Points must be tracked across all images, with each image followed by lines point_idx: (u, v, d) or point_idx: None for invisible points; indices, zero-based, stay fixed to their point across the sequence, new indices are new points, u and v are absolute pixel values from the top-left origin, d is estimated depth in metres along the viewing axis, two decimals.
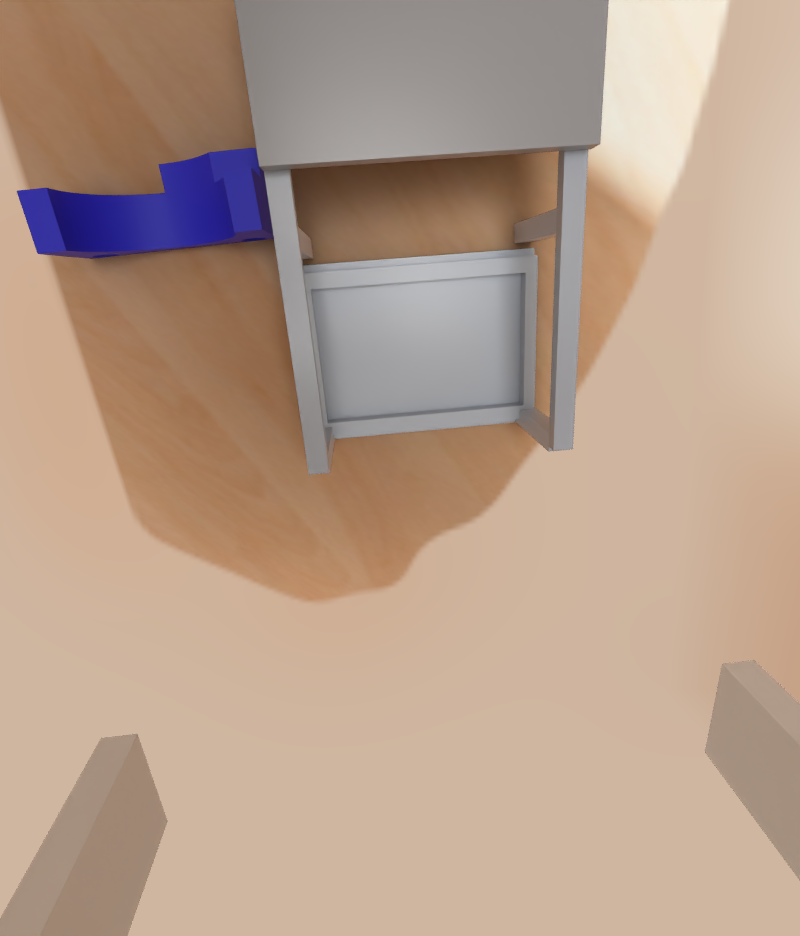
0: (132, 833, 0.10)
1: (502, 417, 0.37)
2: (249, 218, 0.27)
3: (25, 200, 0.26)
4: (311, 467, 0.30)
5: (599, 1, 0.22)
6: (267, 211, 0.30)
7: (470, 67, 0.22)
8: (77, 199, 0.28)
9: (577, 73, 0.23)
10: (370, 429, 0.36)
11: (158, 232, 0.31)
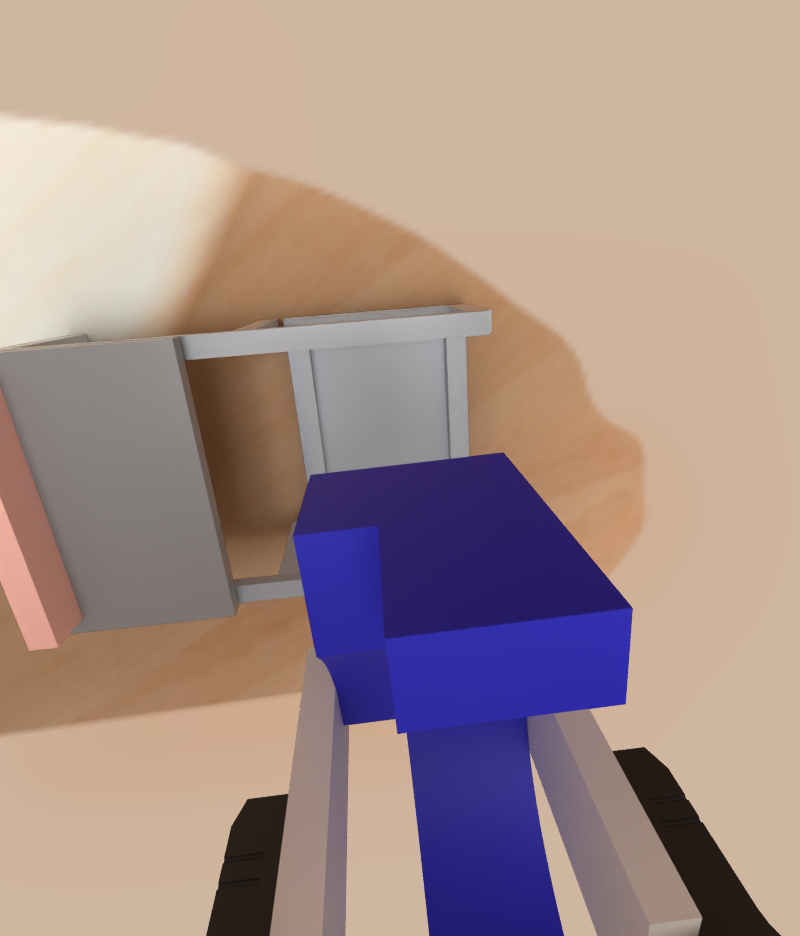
0: (342, 722, 0.12)
1: (457, 344, 0.33)
2: (583, 651, 0.06)
3: None
4: None
5: (59, 356, 0.24)
6: (472, 506, 0.09)
7: (135, 465, 0.26)
8: None
9: (119, 369, 0.24)
10: None
11: (492, 739, 0.13)
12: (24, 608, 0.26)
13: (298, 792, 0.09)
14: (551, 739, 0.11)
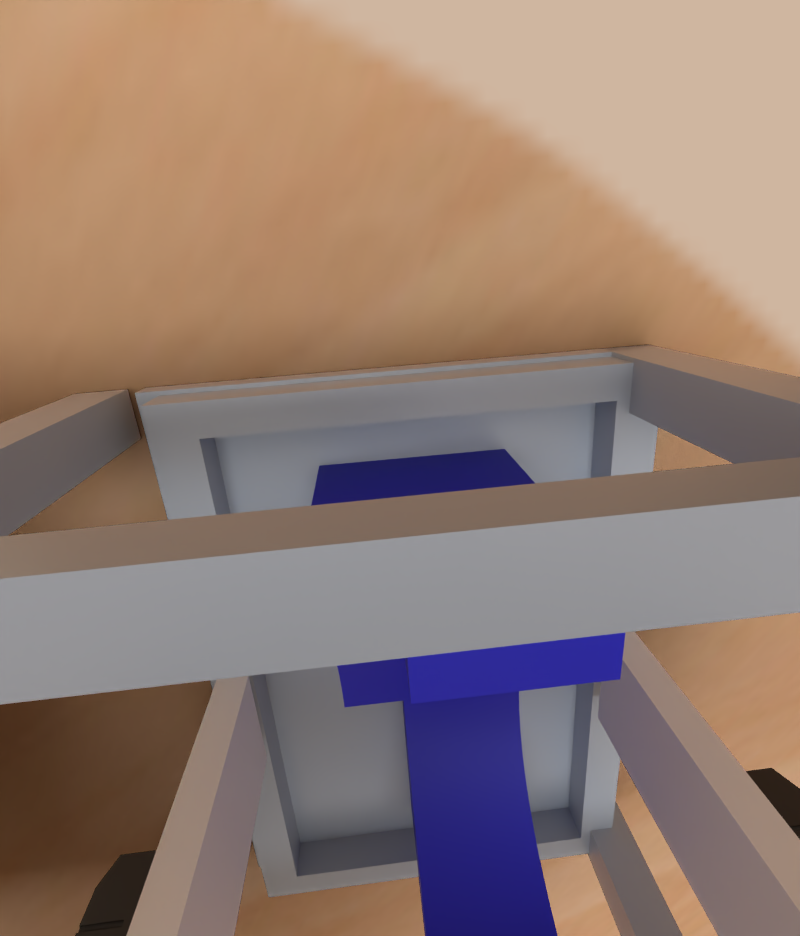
0: (249, 760, 0.11)
1: (643, 464, 0.12)
2: None
3: None
4: None
5: None
6: None
7: None
8: (437, 913, 0.12)
9: None
10: (610, 767, 0.15)
11: (485, 722, 0.13)
12: None
13: (166, 852, 0.08)
14: (665, 758, 0.10)
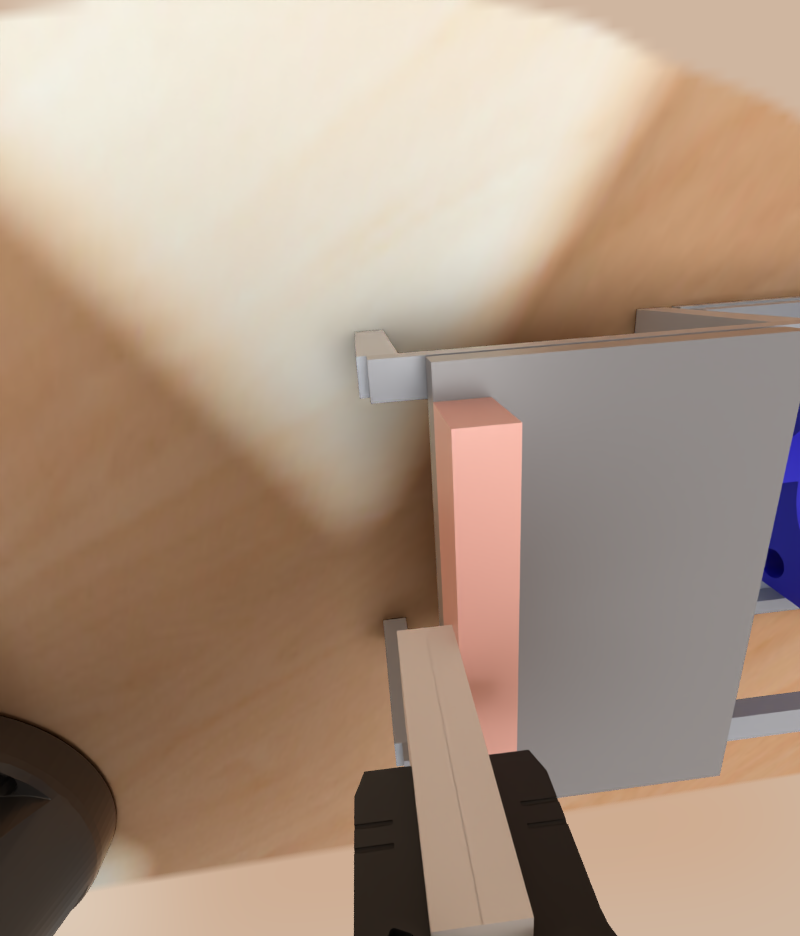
0: None
1: None
2: None
3: None
4: None
5: (612, 363, 0.13)
6: None
7: (665, 551, 0.15)
8: None
9: (703, 386, 0.13)
10: None
11: None
12: None
13: (420, 763, 0.10)
14: None
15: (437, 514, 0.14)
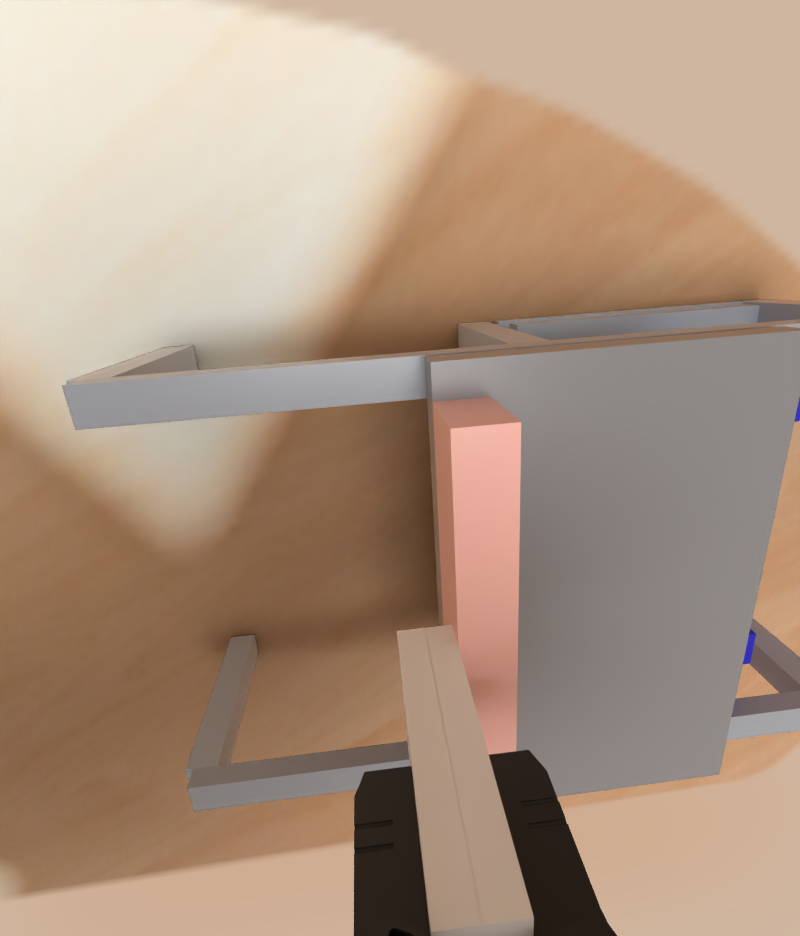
0: None
1: None
2: None
3: None
4: None
5: (611, 363, 0.13)
6: None
7: (664, 550, 0.15)
8: None
9: (702, 386, 0.13)
10: None
11: None
12: None
13: (421, 763, 0.10)
14: None
15: (437, 513, 0.14)
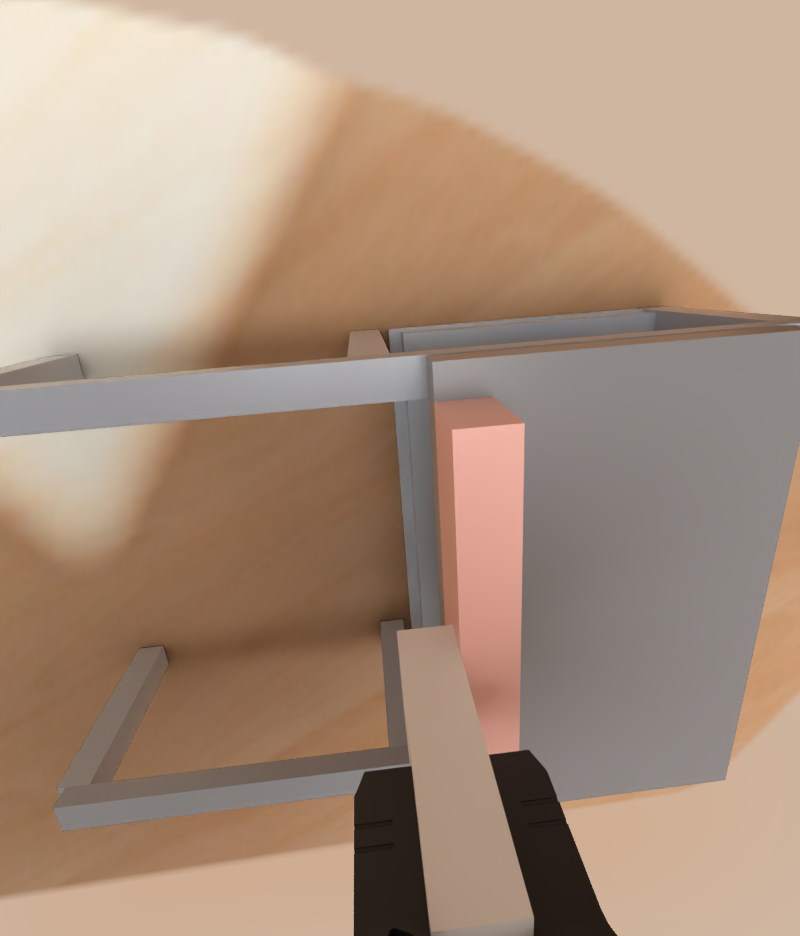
0: None
1: None
2: None
3: None
4: None
5: (617, 362, 0.13)
6: None
7: (670, 553, 0.15)
8: None
9: (710, 386, 0.13)
10: None
11: None
12: None
13: (420, 763, 0.10)
14: None
15: (438, 515, 0.14)
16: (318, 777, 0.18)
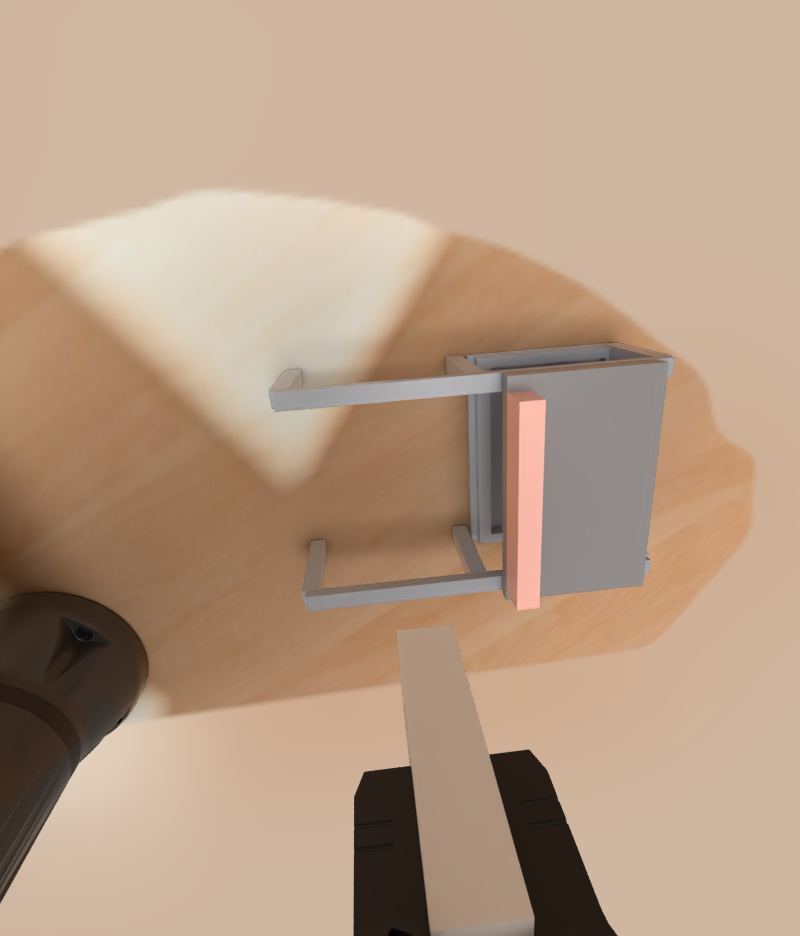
0: None
1: None
2: None
3: None
4: None
5: (582, 376, 0.30)
6: None
7: (608, 461, 0.33)
8: None
9: (622, 386, 0.31)
10: None
11: None
12: (526, 575, 0.32)
13: (420, 763, 0.10)
14: None
15: (506, 442, 0.32)
16: (436, 584, 0.36)
